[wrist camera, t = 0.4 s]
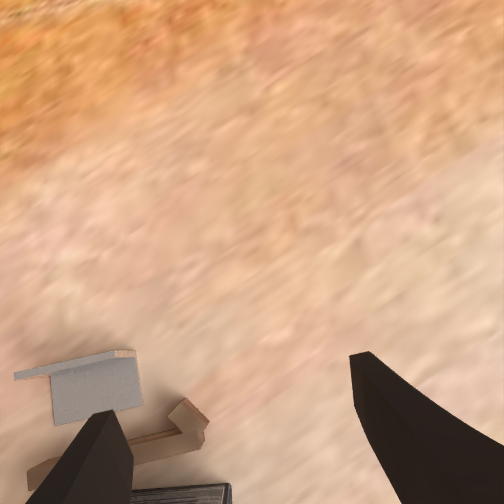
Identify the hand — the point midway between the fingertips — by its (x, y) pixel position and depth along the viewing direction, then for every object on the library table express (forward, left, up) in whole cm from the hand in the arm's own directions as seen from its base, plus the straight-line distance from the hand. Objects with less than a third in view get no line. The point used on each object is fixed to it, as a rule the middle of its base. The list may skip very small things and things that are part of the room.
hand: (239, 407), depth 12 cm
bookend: (+2, +14, -26) cm, 30 cm away
